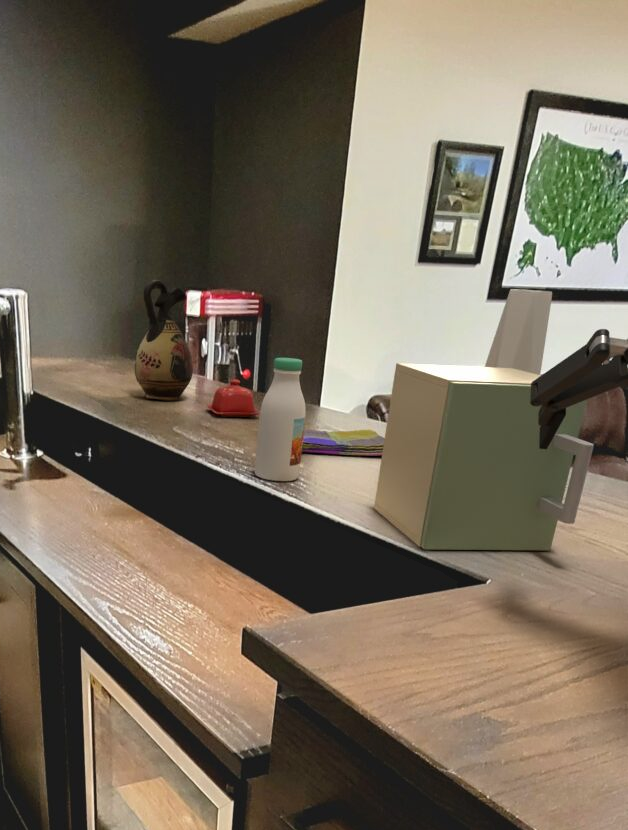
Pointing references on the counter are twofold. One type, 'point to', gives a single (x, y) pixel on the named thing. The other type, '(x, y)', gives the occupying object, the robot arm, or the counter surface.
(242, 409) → the butter dish
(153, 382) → the ceramic jug
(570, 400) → the robot arm
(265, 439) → the milk bottle
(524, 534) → the cupboard door
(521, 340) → the tall faceted taper
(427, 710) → the counter surface
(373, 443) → the dish towel
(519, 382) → the cupboard
